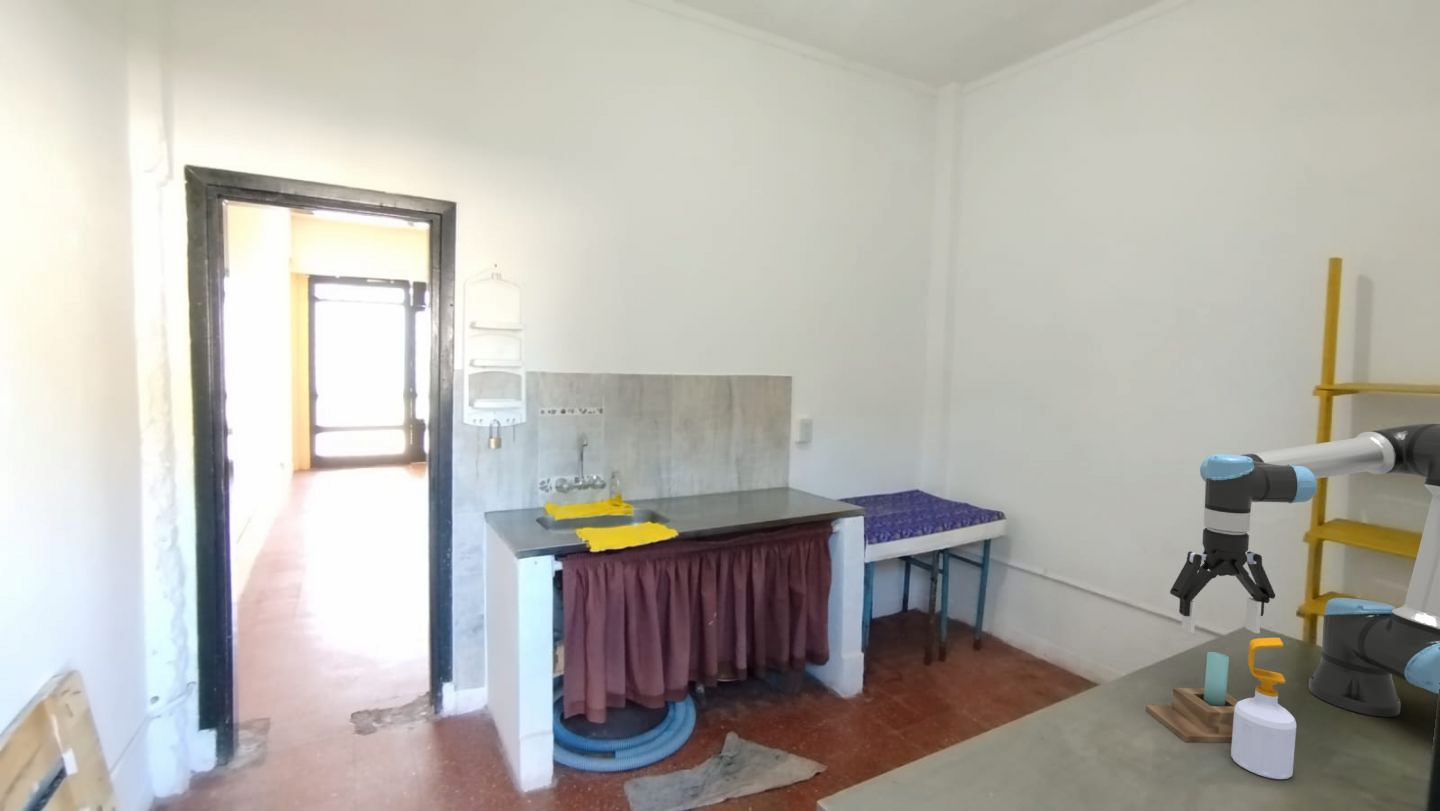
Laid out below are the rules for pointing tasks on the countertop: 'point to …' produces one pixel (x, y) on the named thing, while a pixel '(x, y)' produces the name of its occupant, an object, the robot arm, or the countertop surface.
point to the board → (1184, 726)
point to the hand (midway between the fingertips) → (1220, 631)
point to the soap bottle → (1264, 724)
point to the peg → (1216, 679)
